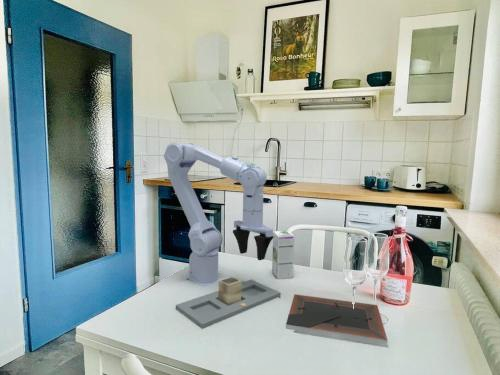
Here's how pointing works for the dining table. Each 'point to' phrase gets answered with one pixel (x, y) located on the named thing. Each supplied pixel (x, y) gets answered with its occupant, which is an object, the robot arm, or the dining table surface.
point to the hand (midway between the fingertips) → (252, 256)
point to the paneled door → (214, 311)
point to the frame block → (229, 290)
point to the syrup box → (283, 254)
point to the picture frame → (337, 320)
